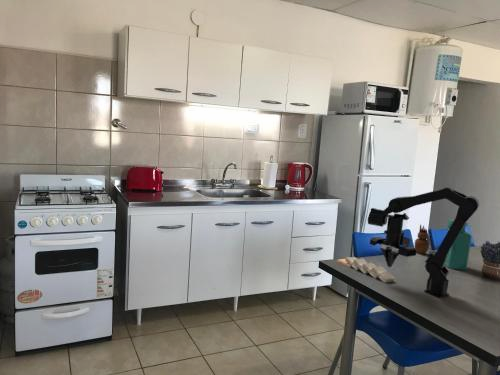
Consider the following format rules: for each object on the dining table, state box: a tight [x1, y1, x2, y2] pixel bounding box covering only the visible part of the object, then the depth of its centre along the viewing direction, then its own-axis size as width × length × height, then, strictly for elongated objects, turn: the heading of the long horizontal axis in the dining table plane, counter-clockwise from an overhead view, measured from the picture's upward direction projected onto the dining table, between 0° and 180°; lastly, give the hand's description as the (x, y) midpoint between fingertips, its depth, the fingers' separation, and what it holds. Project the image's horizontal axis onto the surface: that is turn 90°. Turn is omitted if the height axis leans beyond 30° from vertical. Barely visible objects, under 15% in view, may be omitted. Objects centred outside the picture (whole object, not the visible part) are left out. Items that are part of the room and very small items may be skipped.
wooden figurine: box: [413, 223, 430, 255], centre depth 216 cm, size 7×6×15 cm
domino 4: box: [362, 262, 380, 279], centre depth 175 cm, size 2×5×8 cm
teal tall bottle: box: [444, 218, 473, 271], centre depth 196 cm, size 10×8×22 cm
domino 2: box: [345, 256, 361, 271], centre depth 184 cm, size 2×5×8 cm
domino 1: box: [336, 258, 353, 268], centre depth 188 cm, size 2×5×8 cm
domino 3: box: [353, 257, 370, 275], centre depth 180 cm, size 2×5×8 cm
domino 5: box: [371, 265, 395, 283], centre depth 171 cm, size 2×5×8 cm
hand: (389, 266), depth 168 cm, fingers closed
